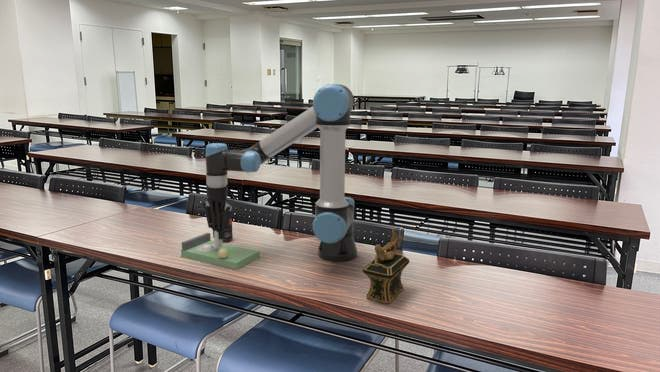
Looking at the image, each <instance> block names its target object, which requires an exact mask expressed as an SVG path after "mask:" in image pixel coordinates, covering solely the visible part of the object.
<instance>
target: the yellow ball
mask: <svg viewBox="0 0 660 372" xmlns="http://www.w3.org/2000/svg"><path fill="white" fill-rule="evenodd" d="M218 256H219V257H220V258H226V257H227V256H228V251H227V249H225V248H222V249H220V250H219V251H218Z"/></svg>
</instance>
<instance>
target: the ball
mask: <svg viewBox="0 0 660 372" xmlns="http://www.w3.org/2000/svg"><path fill="white" fill-rule="evenodd" d="M202 249H203V250H211V247H210V246H209V245H204V246H203V247H202Z"/></svg>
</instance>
